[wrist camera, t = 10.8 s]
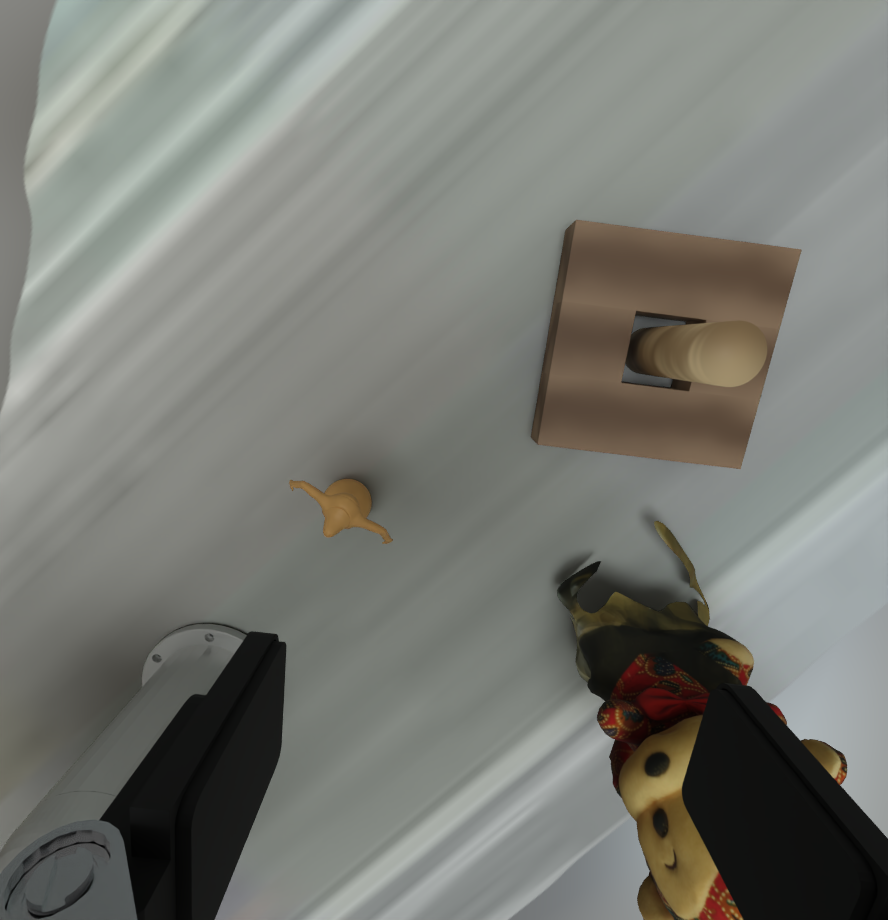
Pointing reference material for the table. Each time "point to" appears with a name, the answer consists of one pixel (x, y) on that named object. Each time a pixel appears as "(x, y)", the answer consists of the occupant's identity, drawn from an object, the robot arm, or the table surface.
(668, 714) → the red green tall figure
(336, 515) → the figurine
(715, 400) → the socket block
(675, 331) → the peg
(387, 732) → the table surface
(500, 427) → the table surface
